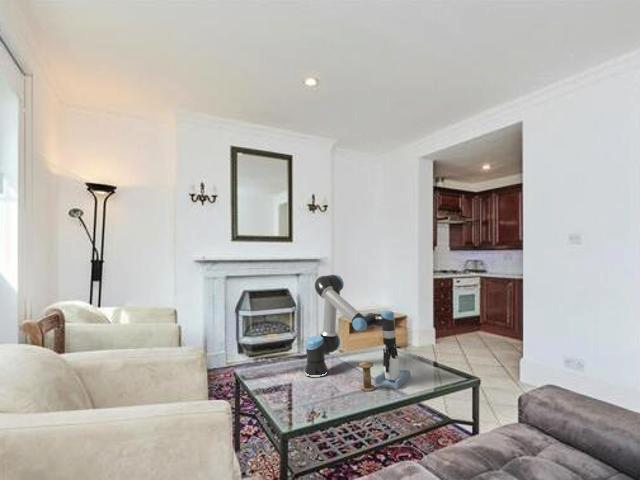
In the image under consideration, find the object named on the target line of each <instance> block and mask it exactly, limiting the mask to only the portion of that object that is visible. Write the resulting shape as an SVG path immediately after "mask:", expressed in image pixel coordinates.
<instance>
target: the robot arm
mask: <svg viewBox="0 0 640 480" xmlns="http://www.w3.org/2000/svg"><path fill="white" fill-rule="evenodd" d="M344 286H345V285H344V281H343V278H342V277H341V276H340V275H338V274H330V275H329V274H328V275H322V276H319V277H318V278H317V279H316V280H315V282H314V290H315V291H316V293H317V295H318V296H319V297H321V298H322V299H324V304H323V305H324V309H323V323H322V324H323V325H322V331H320V335H317V336H311V337H309V338H307V340H306V344H305V350H306V352H305V353H306V366H305V371H304V373H305V372H306V373H307V374H309V375H322V374H325V373H326V372H328V373H329V370H328V368H327V367H328V366H327V365H326V362H325V355H328V354H331V353H333V352H336V351H337V350H338V349H339V348H340V346H341V339H340V337H339V335H338V333H337V331H336V328H337V326H336V325H337V311H338V312H339V313H341V315H343V316H344V317H346V318H347V320H349V321H350V322H351V323H352V327H353V329H354V331H357V332H361V331H364V330H365V331H366V330H367V329H369V328H373V327H381V329H382V342H383V344H384V345H385V348H383V349H382V351H383V356H382V366H383V367H384V366H385V370H386V378H391V373H390V366H389V364H390V363H389V360H390V356H392V358H393V359H396V356H399V354H398V349H397V347H398V346H397V340H396V339H397V338H396V334H397V333H396V328H395V326H396V325H395V313H394V311H393V310H382V311H381V312H380V313H372V312H366V313H365V314H364V315H363V314H362V313H360V312H359V310H357V309H356V308H355V307H354V306H353V305H351V304H350V303H349V302H348V301H346V299H344V298H343V297H342V296H341V295H340V294H341V291H342V290H343V289H344Z"/></svg>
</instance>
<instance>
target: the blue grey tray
mask: <svg viewBox="0 0 640 480" xmlns="http://www.w3.org/2000/svg"><path fill="white" fill-rule="evenodd" d="M411 373H412V372H411V370H409V369H401V368H399V378H398V379H396V380H389V379H386V378H385V372H384V370H383V371H381V372H380V373H379V374H377V375H376V376H374V378H373V379H374V386H378V387H384V388H389V389H395V390H398V389H399V388H401V386H403V385H404V384H405V383H407V381H408V380H410V379H411V378H412V375H411Z"/></svg>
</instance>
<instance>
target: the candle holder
mask: <svg viewBox="0 0 640 480" xmlns="http://www.w3.org/2000/svg"><path fill="white" fill-rule="evenodd" d="M389 363H390V364H389V366H390V373H391V378H386V370H385V366H383V371H384V372H385V378H386V379H389V380H396V379H398V378H399V369H400V356H399V355H398V356H396V359H393V358H392V356H390V360H389Z"/></svg>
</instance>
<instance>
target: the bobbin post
mask: <svg viewBox="0 0 640 480" xmlns="http://www.w3.org/2000/svg"><path fill="white" fill-rule="evenodd" d="M358 365H359V367H360V368H362V379H363V384H362V385H361V386H360V390H361V391H362V392H373V391H375V390H376V385H375V384H374V385H373V384H372V374H371V371H372V370H371V368H373V367H374V363H373V362H370V361H361V362H360V363H359V364H358Z"/></svg>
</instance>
